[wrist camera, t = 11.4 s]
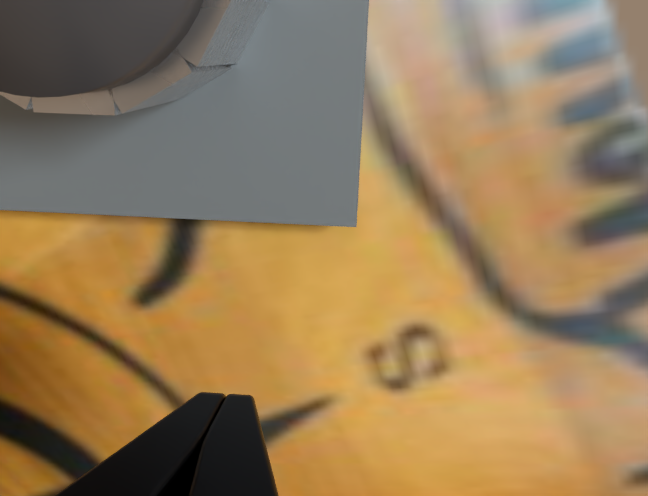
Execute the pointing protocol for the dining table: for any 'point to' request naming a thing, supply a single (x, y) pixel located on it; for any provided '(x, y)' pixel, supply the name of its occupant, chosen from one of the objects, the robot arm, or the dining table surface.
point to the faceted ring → (170, 64)
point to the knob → (86, 42)
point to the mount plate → (214, 135)
